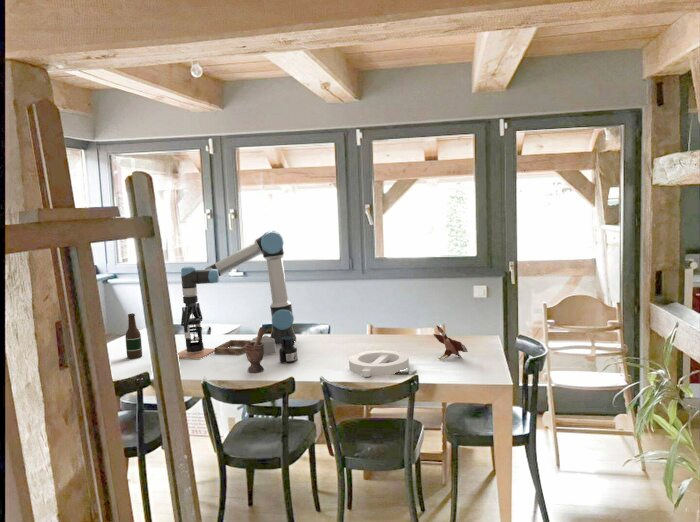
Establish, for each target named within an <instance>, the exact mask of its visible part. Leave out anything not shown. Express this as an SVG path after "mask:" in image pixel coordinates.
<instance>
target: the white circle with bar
mask: <svg viewBox="0 0 700 522" xmlns="http://www.w3.org/2000/svg"><path fill="white" fill-rule="evenodd" d="M409 361H410V360H409V356H408V355H407V354H406V353H404V352H400V351H397V350H396V351H395V350H385V349H384V350H383V349H382V350H379V349H378V350H377V349H376V350H367V351H362V352H361V351H360V352H358V353H354V354H353V355H351V356H349V358H348V367H349V371H350V372H352V373H353V374H356V375H361V376H362V377H367V378H369V377H383V376H391V375H396V374H395V373H396V372H398V371H400V370H404V369H406V368H408V369H409V366H410V365H409V363H410V362H409Z"/></svg>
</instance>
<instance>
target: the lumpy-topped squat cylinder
mask: <svg viewBox="0 0 700 522" xmlns="http://www.w3.org/2000/svg"><path fill="white" fill-rule="evenodd" d="M256 340H257V336H256V337H254V338H252V339H251V341H250V343H251V342H256ZM260 342H261V343H263V345H264V355H263V356H268V355H269V356H271V355H274V354H276V352H277V351H276V350H277V349H276V344H275V339H273V338H271V337H270V335H266V334H265V335H263V337H262V339H261V341H260Z"/></svg>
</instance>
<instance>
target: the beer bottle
mask: <svg viewBox="0 0 700 522" xmlns="http://www.w3.org/2000/svg"><path fill="white" fill-rule="evenodd" d="M127 317H128V318H127V319H128V321H127V323H128V325H127V326H128V327H127V328H128V329H127V330H126V333H125V347H126V358H127V359H128V360H136V359H140V358H142V357H143V348H142V335H141V332H140V330H139V329H138V327H137V323H136V318H135V317H136V314H135V313H129V314H127Z"/></svg>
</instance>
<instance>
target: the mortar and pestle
mask: <svg viewBox="0 0 700 522" xmlns="http://www.w3.org/2000/svg"><path fill="white" fill-rule="evenodd" d="M265 330H266V329H265V327H263V326H261V327H259V328H258V332H257V335H256V337H257V340H256V342H251V343H247V344H245V348H246V352H245V356H246V359H247V361H248V362H249V363H250V365H249V367H248V368H247V372H248V373H250V374H251V373H253V374H254V373H261V372H262V371H264V366H263V365H262V364H261V362H262V361H263V359H264V356H265V355H264V345H263V343H261V342H260V341H261V339H262V337H263V336H265V335H264V334H265V333H266V331H265Z"/></svg>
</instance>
